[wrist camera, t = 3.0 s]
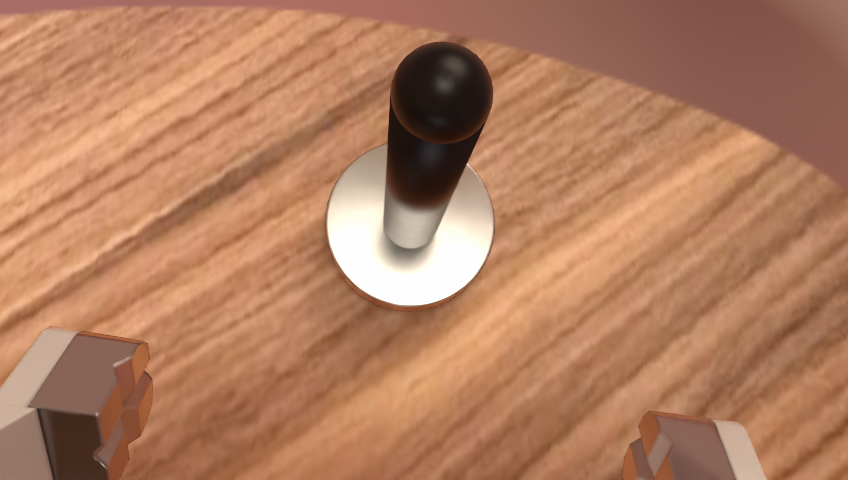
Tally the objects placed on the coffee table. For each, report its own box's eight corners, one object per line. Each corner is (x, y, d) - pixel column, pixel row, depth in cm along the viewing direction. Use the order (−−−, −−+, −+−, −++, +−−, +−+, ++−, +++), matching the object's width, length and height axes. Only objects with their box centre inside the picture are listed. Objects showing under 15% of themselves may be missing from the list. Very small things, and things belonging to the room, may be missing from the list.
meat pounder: (482, 155, 26) (601, -80, 12) (490, 309, 25) (628, 238, 11) (327, 158, 26) (272, -84, 12) (330, 314, 25) (272, 247, 11)
